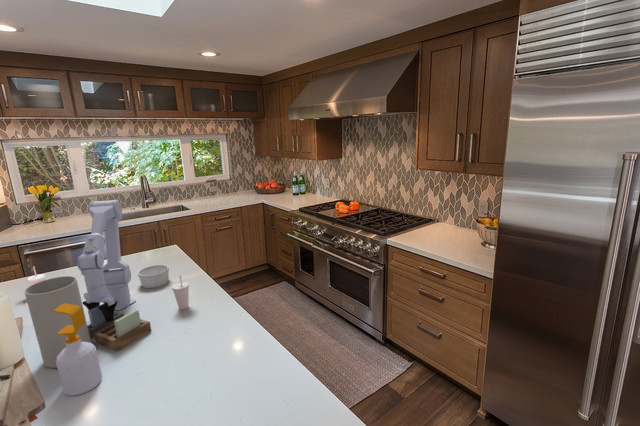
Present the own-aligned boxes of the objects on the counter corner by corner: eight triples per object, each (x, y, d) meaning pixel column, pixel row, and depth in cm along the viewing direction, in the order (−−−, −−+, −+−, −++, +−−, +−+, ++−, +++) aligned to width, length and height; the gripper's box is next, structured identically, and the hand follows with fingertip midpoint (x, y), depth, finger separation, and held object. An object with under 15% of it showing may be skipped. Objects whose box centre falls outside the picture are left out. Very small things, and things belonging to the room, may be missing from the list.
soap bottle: (76, 374, 98) (58, 299, 92) (108, 371, 99) (92, 296, 93) (55, 398, 89) (33, 316, 84) (91, 394, 90) (71, 313, 84)
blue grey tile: (92, 333, 119) (87, 310, 117) (114, 321, 126) (110, 300, 124) (95, 334, 118) (90, 311, 116) (116, 322, 125) (112, 301, 123)
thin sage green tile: (118, 345, 111) (113, 321, 109) (139, 332, 118) (135, 309, 116) (121, 346, 111) (116, 322, 109) (142, 333, 118) (138, 310, 116)
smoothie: (186, 311, 131) (181, 279, 128) (171, 310, 132) (166, 278, 129) (195, 303, 137) (190, 272, 134) (181, 302, 138) (176, 271, 135)
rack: (95, 342, 113) (93, 333, 112) (129, 323, 124) (127, 315, 123) (118, 351, 108) (116, 341, 107) (151, 330, 119) (149, 321, 118)
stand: (83, 335, 117) (82, 328, 117) (117, 318, 128) (115, 311, 128) (91, 338, 116) (89, 331, 115) (124, 320, 127) (123, 313, 126)
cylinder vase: (52, 349, 110) (34, 280, 104) (96, 340, 115) (81, 273, 109) (37, 374, 99) (16, 298, 93) (86, 362, 103) (69, 289, 97)
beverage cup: (53, 292, 153) (46, 263, 149) (41, 298, 147) (33, 269, 144) (41, 292, 153) (33, 263, 150) (28, 298, 148) (20, 269, 144)
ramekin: (176, 280, 160) (174, 267, 158) (150, 292, 149) (147, 277, 148) (160, 275, 167) (158, 262, 165) (134, 286, 156) (131, 272, 155)
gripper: (71, 286, 117) (79, 320, 121) (97, 293, 111) (105, 329, 115) (92, 278, 124) (99, 311, 127) (117, 284, 118) (124, 318, 121)
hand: (103, 319), depth 121 cm, fingers open, 7 cm apart
